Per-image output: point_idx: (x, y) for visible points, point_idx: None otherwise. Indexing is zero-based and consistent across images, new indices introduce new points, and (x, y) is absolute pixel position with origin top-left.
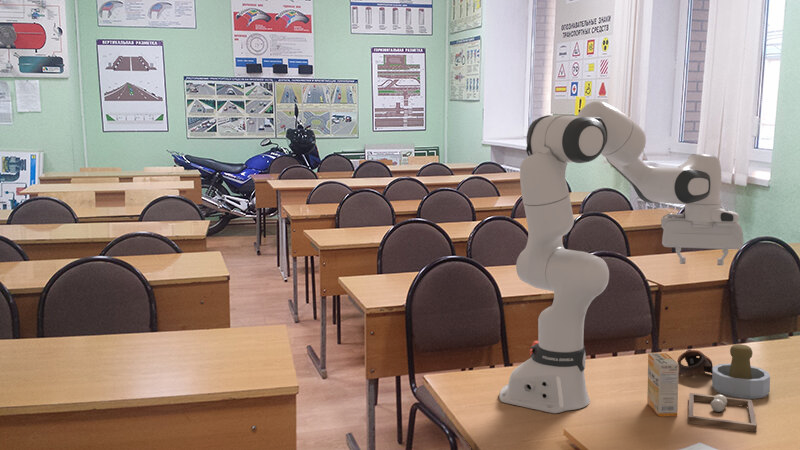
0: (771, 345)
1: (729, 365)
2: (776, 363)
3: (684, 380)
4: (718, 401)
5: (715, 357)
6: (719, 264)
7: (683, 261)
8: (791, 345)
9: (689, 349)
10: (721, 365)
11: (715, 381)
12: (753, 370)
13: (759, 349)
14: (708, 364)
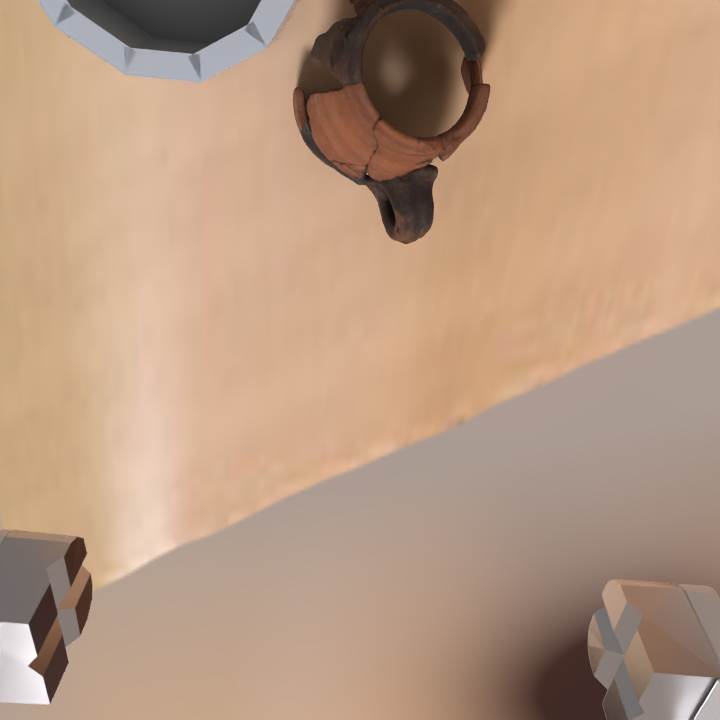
0: None
1: (214, 43)
2: (44, 360)
3: None
4: None
5: (279, 384)
6: (40, 537)
7: (661, 608)
8: None
9: (411, 226)
10: (257, 21)
11: None
12: (93, 17)
13: (115, 504)
14: (327, 38)
